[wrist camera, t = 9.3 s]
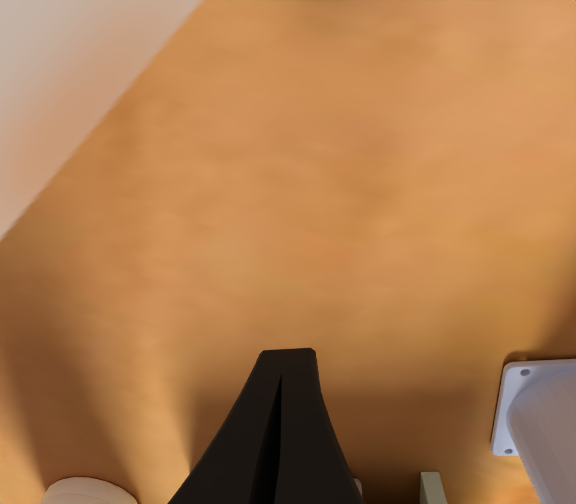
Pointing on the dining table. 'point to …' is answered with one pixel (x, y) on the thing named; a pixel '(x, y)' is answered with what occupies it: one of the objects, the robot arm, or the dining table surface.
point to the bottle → (86, 492)
